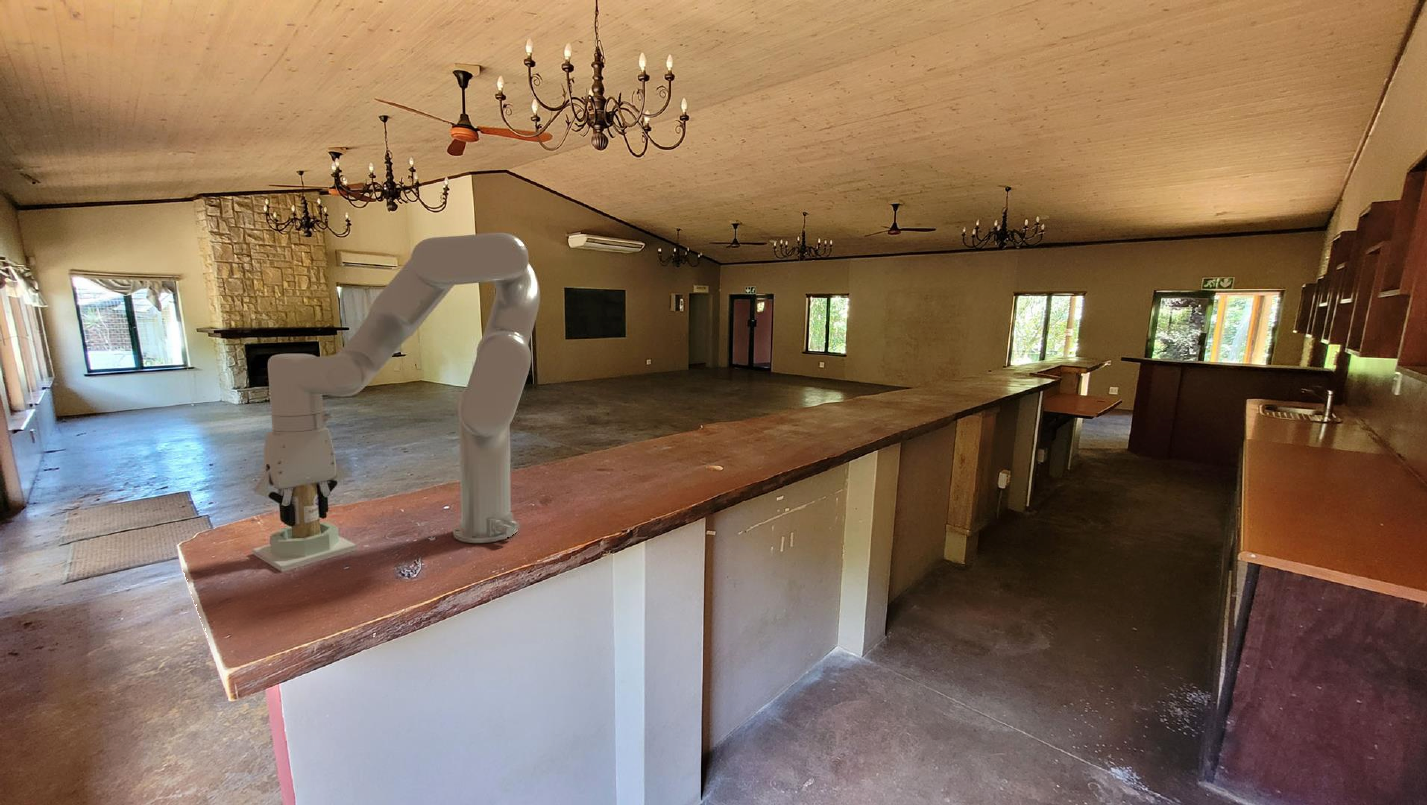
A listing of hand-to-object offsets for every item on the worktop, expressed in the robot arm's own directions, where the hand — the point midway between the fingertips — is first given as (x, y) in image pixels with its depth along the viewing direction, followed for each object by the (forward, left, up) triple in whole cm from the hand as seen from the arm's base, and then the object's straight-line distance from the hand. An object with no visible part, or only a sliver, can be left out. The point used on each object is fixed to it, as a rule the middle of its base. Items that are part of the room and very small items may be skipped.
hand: (305, 519), depth 104 cm
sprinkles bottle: (0, 0, -4) cm, 4 cm away
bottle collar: (0, 0, -6) cm, 6 cm away
